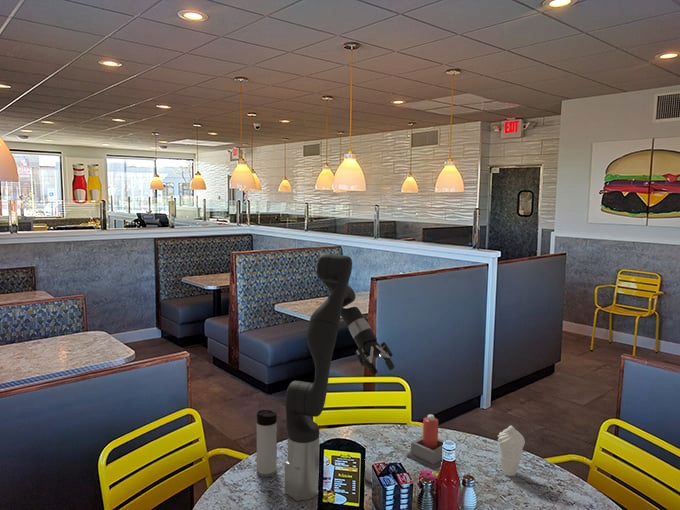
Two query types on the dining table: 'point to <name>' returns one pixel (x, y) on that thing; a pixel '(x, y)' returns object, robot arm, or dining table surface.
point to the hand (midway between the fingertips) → (384, 371)
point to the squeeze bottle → (430, 432)
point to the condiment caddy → (426, 453)
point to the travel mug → (266, 443)
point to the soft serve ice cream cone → (510, 450)
